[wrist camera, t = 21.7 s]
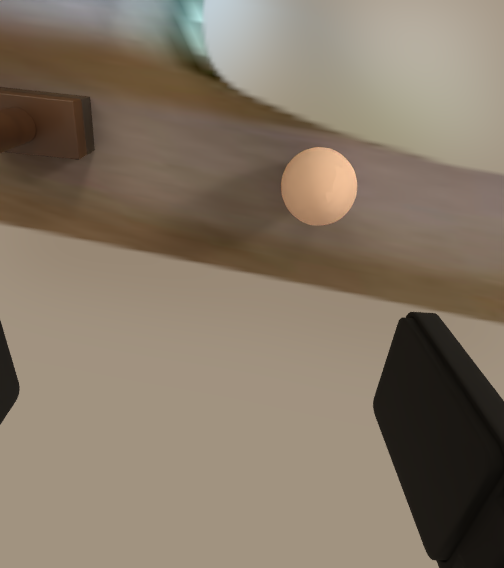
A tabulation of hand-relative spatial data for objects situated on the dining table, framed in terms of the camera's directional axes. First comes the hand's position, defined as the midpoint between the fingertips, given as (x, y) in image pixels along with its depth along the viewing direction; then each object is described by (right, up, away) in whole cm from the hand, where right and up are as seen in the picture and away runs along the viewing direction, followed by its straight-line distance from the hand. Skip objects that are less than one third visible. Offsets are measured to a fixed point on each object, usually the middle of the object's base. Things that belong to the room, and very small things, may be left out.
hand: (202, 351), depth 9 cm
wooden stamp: (-15, +15, +22) cm, 30 cm away
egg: (+6, +11, +24) cm, 27 cm away
